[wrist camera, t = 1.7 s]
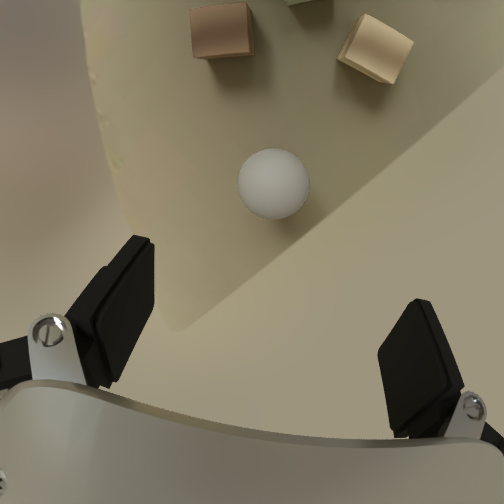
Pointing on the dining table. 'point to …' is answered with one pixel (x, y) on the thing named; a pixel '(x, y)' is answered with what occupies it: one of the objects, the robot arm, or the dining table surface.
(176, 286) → the dining table surface
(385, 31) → the beech cube
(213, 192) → the dining table surface
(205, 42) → the walnut cube
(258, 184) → the lightbulb
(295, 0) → the sage cube
